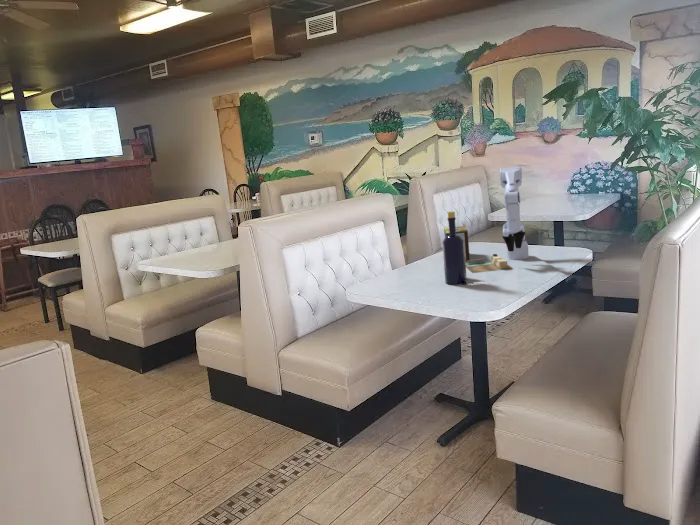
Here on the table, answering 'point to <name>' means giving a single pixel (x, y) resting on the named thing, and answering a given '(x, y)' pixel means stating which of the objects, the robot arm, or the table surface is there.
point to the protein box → (464, 235)
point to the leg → (498, 261)
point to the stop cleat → (476, 261)
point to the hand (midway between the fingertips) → (514, 249)
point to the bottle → (454, 255)
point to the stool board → (484, 267)
